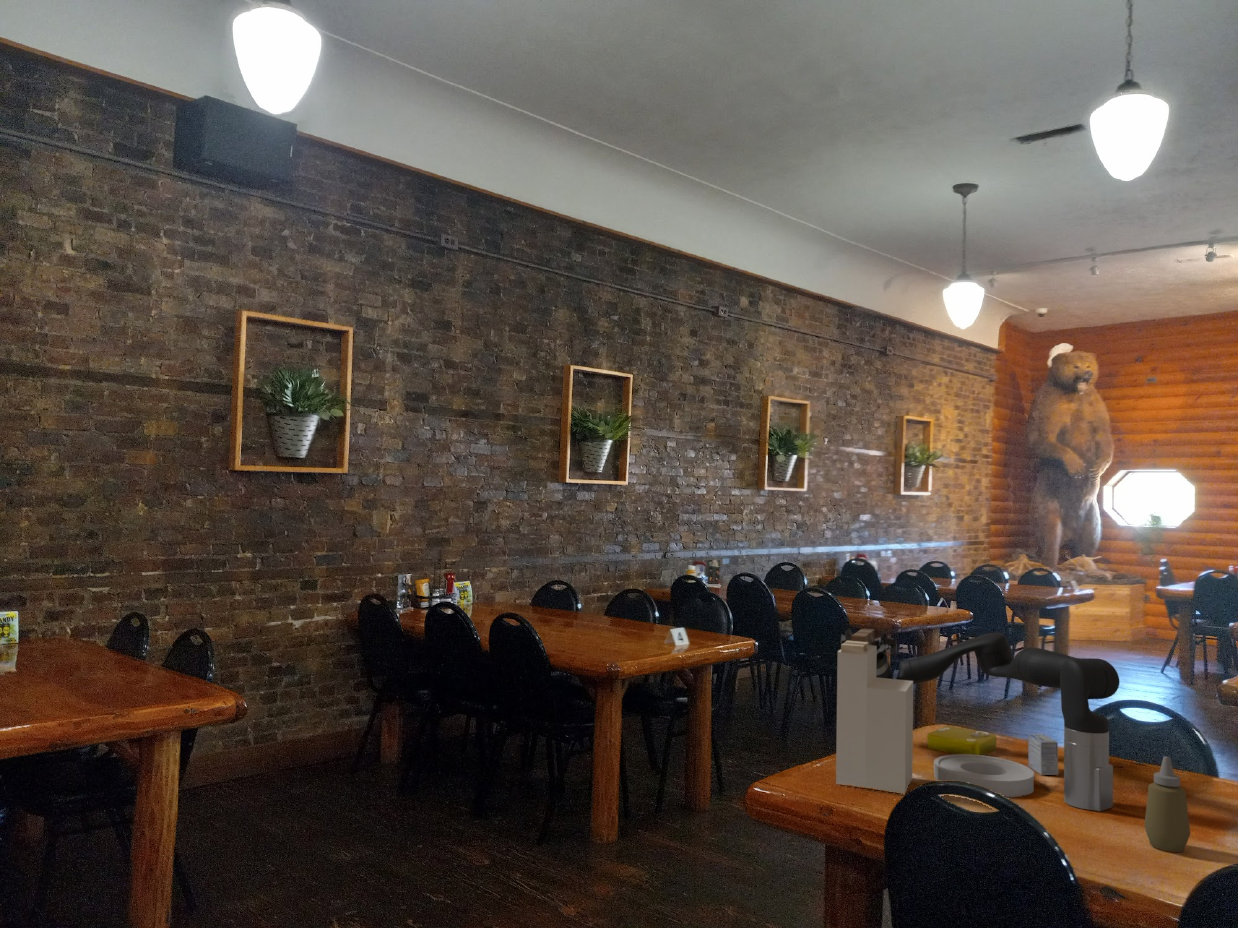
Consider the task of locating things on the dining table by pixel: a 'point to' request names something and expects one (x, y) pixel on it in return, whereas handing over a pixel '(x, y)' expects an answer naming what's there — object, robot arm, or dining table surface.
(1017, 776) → the ashtray
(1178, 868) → the dining table surface
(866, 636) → the brown bar
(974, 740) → the element tile
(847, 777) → the display stand
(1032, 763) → the medicine box
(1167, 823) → the squeeze bottle
